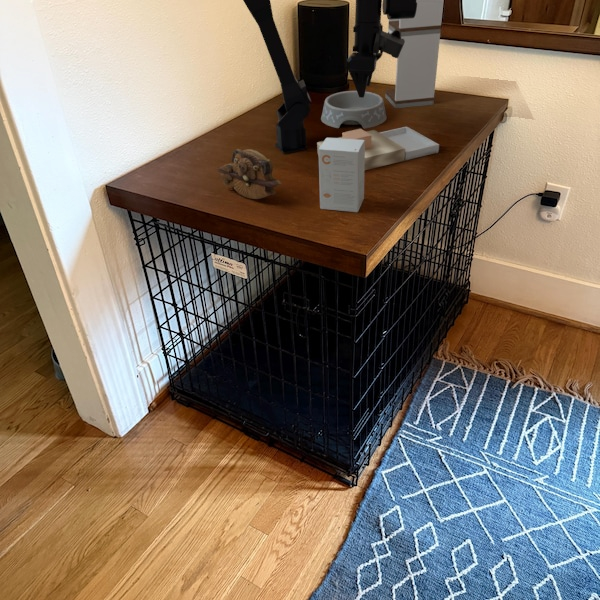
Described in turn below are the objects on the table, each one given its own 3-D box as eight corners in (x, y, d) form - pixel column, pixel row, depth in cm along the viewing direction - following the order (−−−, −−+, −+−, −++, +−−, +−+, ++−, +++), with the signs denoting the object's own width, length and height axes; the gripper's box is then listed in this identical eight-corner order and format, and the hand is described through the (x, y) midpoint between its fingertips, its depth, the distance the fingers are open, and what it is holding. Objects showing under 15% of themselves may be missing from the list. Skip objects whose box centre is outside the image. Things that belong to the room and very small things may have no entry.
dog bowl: (385, 130, 150) (386, 110, 146) (317, 129, 152) (316, 109, 149) (387, 108, 163) (388, 89, 160) (324, 108, 166) (324, 89, 162)
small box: (364, 199, 118) (365, 139, 110) (357, 213, 113) (359, 151, 105) (326, 195, 120) (326, 136, 112) (319, 209, 115) (317, 148, 108)
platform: (344, 175, 128) (344, 162, 126) (317, 154, 138) (317, 142, 136) (404, 160, 133) (405, 148, 131) (373, 141, 143) (374, 129, 141)
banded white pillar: (421, 93, 172) (432, -40, 150) (433, 104, 163) (447, -35, 142) (385, 97, 170) (391, -37, 149) (395, 108, 162) (403, -32, 141)
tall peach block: (352, 151, 131) (352, 139, 129) (342, 144, 134) (342, 132, 132) (371, 147, 132) (371, 135, 130) (360, 140, 136) (360, 128, 134)
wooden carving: (215, 192, 124) (208, 148, 118) (228, 183, 127) (222, 141, 121) (274, 209, 116) (271, 164, 110) (287, 200, 119) (284, 156, 113)
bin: (405, 160, 133) (405, 152, 132) (374, 141, 143) (375, 133, 142) (438, 152, 136) (439, 144, 134) (406, 134, 146) (406, 126, 145)
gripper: (399, 30, 117) (393, 105, 127) (407, 13, 131) (401, 81, 141) (347, 29, 119) (345, 103, 129) (360, 12, 134) (357, 79, 143)
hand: (364, 91), depth 135 cm, fingers open, 9 cm apart
